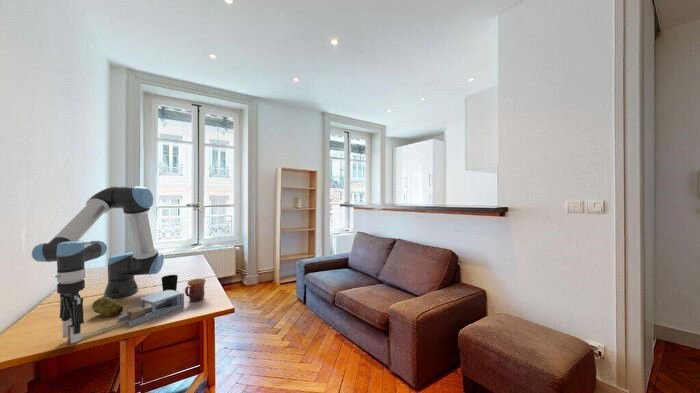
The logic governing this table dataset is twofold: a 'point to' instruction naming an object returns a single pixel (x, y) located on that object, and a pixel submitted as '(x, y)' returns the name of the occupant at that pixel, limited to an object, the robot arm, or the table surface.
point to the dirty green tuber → (107, 307)
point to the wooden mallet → (131, 315)
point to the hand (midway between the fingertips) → (71, 338)
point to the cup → (169, 282)
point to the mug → (195, 289)
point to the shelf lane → (157, 305)
